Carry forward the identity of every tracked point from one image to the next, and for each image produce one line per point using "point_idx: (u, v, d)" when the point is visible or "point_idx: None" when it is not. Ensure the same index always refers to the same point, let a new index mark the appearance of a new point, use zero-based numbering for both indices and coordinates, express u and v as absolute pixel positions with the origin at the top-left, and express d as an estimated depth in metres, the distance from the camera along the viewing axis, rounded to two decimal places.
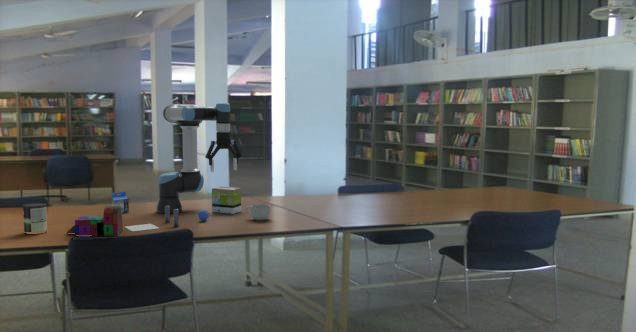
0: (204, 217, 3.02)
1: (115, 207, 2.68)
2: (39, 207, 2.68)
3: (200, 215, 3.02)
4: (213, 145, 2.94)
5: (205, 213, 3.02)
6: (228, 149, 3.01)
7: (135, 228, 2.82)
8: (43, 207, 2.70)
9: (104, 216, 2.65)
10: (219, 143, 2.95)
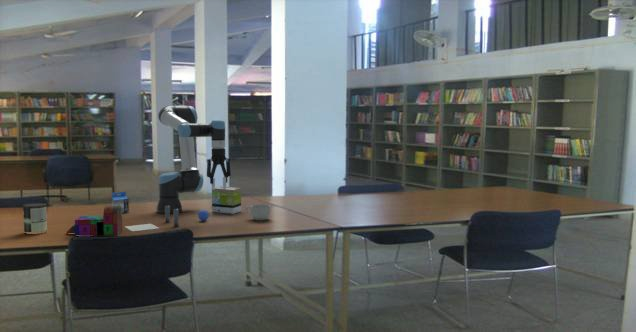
0: (204, 217, 3.02)
1: (115, 207, 2.69)
2: (39, 207, 2.68)
3: (200, 215, 3.02)
4: (210, 163, 3.03)
5: (205, 213, 3.02)
6: (221, 166, 3.09)
7: (135, 228, 2.82)
8: (43, 207, 2.70)
9: (104, 216, 2.65)
10: (214, 159, 3.05)
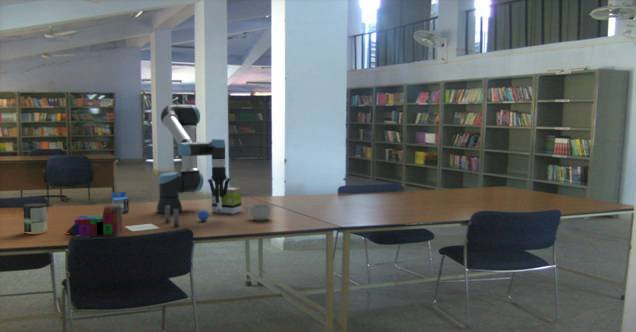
0: (204, 217, 3.02)
1: (115, 206, 2.69)
2: (39, 207, 2.68)
3: (200, 215, 3.02)
4: (212, 183, 3.04)
5: (205, 213, 3.02)
6: (219, 184, 3.09)
7: (135, 228, 2.82)
8: (43, 207, 2.70)
9: (104, 215, 2.66)
10: (215, 177, 3.05)
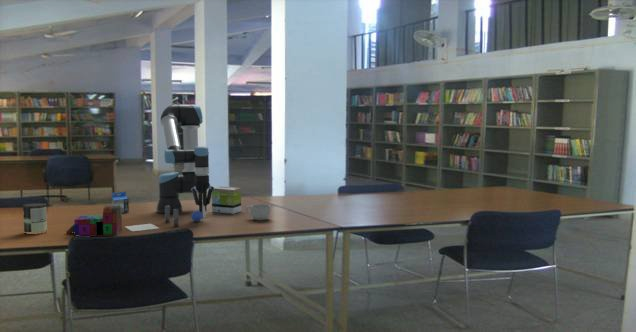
0: (198, 218, 3.00)
1: (114, 206, 2.70)
2: (39, 207, 2.68)
3: (193, 218, 2.99)
4: (195, 192, 2.99)
5: (197, 214, 2.99)
6: None
7: (135, 228, 2.82)
8: (43, 207, 2.70)
9: (103, 215, 2.66)
10: (198, 186, 3.00)
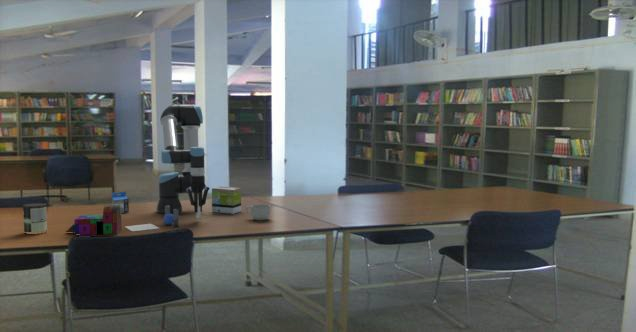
0: (169, 220, 2.90)
1: (114, 206, 2.71)
2: (39, 207, 2.68)
3: (166, 217, 2.90)
4: (190, 192, 2.98)
5: (172, 217, 2.91)
6: (198, 193, 3.03)
7: (135, 228, 2.82)
8: (43, 207, 2.70)
9: (104, 215, 2.67)
10: (194, 186, 2.99)
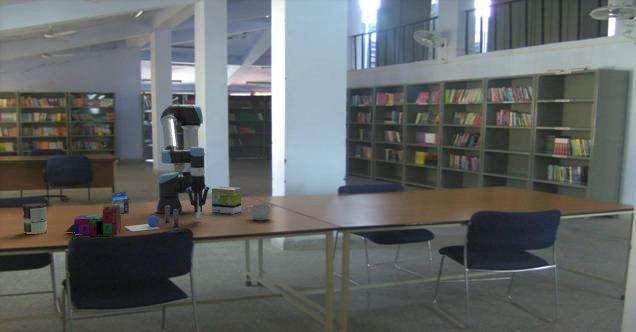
0: (156, 221, 2.86)
1: (114, 206, 2.71)
2: (39, 207, 2.68)
3: (156, 224, 2.88)
4: (190, 192, 2.98)
5: (152, 223, 2.85)
6: (198, 193, 3.03)
7: (135, 228, 2.82)
8: (43, 207, 2.70)
9: (103, 215, 2.67)
10: (194, 186, 2.99)
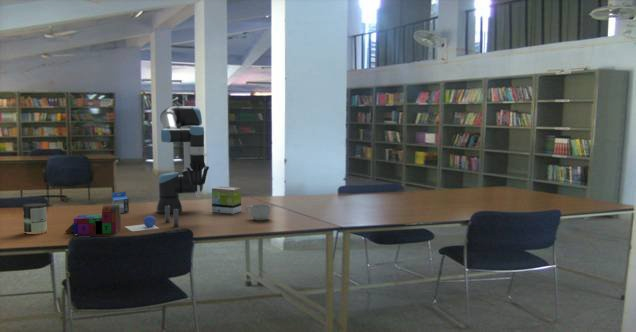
0: (152, 220, 2.85)
1: (113, 206, 2.72)
2: (39, 207, 2.68)
3: None
4: (190, 171, 2.97)
5: (150, 225, 2.85)
6: (198, 172, 3.02)
7: (135, 228, 2.82)
8: (43, 207, 2.70)
9: (102, 215, 2.68)
10: (193, 165, 2.98)
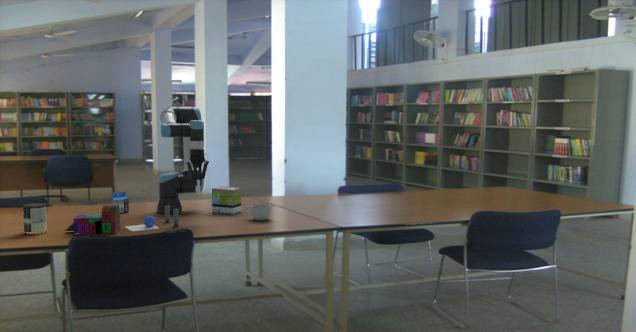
0: (152, 220, 2.85)
1: (113, 205, 2.73)
2: (39, 207, 2.68)
3: None
4: (190, 165, 2.97)
5: (150, 225, 2.85)
6: (198, 167, 3.01)
7: (135, 228, 2.82)
8: (43, 207, 2.70)
9: (102, 214, 2.69)
10: (193, 160, 2.98)
